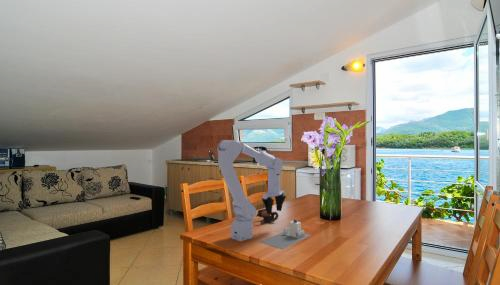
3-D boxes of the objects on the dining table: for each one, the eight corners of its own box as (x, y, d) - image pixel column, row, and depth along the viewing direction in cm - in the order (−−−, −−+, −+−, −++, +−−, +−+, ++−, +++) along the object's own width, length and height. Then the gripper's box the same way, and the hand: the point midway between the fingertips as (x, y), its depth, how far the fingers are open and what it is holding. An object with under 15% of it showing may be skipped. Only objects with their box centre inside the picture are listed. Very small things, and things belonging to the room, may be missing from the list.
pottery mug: (254, 225, 151) (253, 209, 155) (261, 229, 159) (259, 214, 163) (277, 221, 147) (275, 205, 151) (282, 225, 155) (280, 210, 159)
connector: (297, 236, 129) (297, 221, 129) (289, 234, 131) (289, 219, 131) (300, 234, 131) (301, 220, 131) (293, 232, 134) (293, 218, 134)
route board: (282, 251, 115) (282, 249, 115) (258, 244, 123) (258, 241, 123) (311, 237, 131) (311, 235, 131) (288, 231, 140) (288, 229, 139)
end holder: (297, 238, 127) (297, 233, 127) (282, 235, 132) (282, 229, 132) (305, 235, 132) (305, 229, 132) (290, 231, 137) (290, 226, 137)
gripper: (271, 185, 131) (271, 216, 131) (290, 182, 141) (290, 210, 142) (259, 184, 135) (259, 213, 136) (278, 180, 146) (278, 208, 146)
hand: (274, 212), depth 139 cm, fingers open, 7 cm apart
